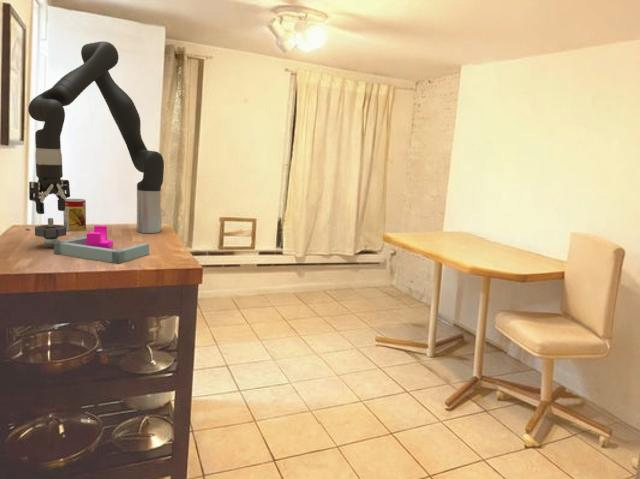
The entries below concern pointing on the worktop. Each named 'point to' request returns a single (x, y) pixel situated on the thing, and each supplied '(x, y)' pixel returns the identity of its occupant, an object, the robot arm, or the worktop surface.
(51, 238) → the axle hub
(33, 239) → the worktop surface
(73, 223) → the canned food
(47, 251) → the worktop surface
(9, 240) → the worktop surface
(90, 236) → the toy block
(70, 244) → the grey u-shaped bracket
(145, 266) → the worktop surface
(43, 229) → the wheel
